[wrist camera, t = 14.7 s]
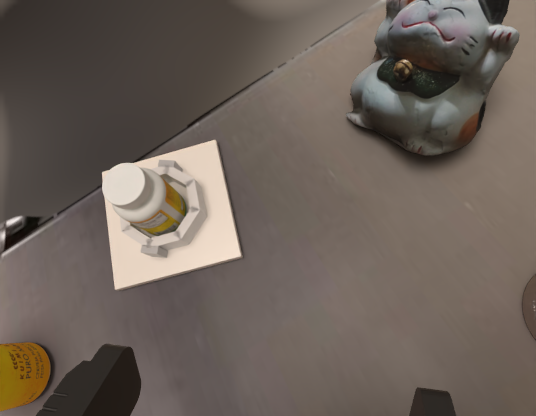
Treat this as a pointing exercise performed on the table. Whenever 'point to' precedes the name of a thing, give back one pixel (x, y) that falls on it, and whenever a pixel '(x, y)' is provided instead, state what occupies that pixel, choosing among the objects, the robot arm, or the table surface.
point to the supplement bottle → (144, 199)
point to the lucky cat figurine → (433, 72)
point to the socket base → (206, 239)
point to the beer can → (22, 373)
